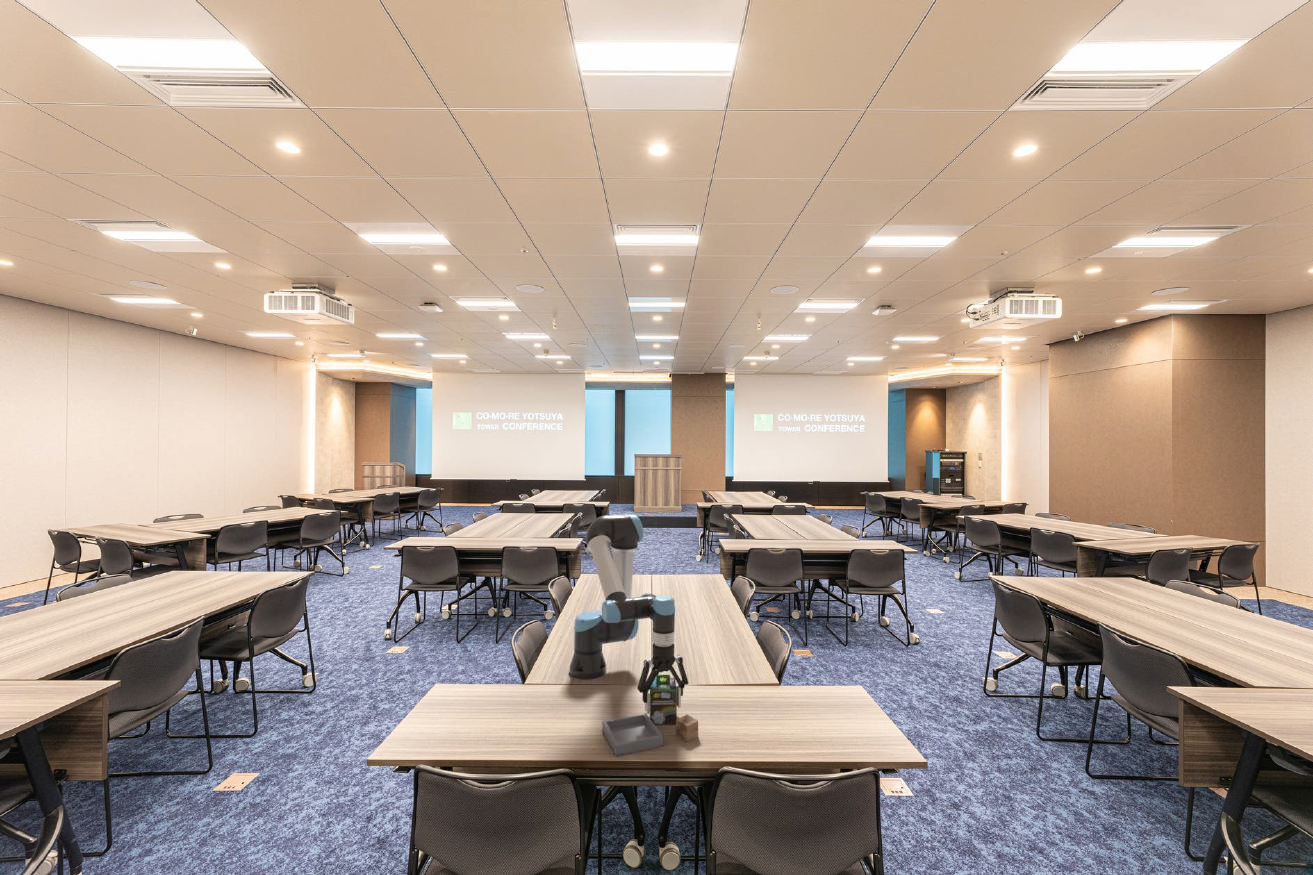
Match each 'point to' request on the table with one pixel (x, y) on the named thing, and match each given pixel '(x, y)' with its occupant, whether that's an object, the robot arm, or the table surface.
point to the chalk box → (663, 700)
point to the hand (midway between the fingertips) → (662, 708)
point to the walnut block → (687, 728)
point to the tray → (631, 734)
